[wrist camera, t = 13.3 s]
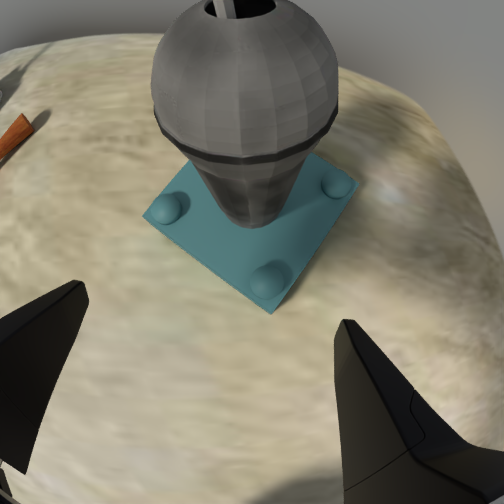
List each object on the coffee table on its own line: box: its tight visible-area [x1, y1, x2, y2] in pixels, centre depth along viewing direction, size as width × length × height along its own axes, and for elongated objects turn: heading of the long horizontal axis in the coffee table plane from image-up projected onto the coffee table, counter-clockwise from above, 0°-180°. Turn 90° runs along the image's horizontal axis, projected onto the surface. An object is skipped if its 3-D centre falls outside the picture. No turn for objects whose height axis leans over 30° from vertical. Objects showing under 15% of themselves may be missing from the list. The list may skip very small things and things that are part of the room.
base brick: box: [142, 152, 359, 314], centre depth 22 cm, size 12×12×3 cm
